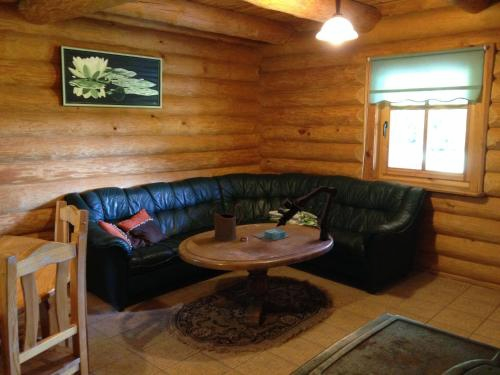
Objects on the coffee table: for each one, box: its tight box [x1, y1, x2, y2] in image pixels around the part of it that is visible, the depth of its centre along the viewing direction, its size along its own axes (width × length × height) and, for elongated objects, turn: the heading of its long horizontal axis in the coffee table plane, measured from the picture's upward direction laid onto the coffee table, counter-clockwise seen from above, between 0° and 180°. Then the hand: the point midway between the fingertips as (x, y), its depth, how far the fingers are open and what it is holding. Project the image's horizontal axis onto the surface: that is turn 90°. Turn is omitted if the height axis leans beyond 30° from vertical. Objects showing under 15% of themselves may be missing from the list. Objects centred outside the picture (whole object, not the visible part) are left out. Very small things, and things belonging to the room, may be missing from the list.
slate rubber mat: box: [251, 231, 291, 242], centre depth 333 cm, size 22×20×1 cm
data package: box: [264, 228, 286, 241], centre depth 328 cm, size 12×4×12 cm
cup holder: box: [212, 203, 244, 243], centre depth 326 cm, size 18×24×25 cm
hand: (276, 226), depth 320 cm, fingers closed
